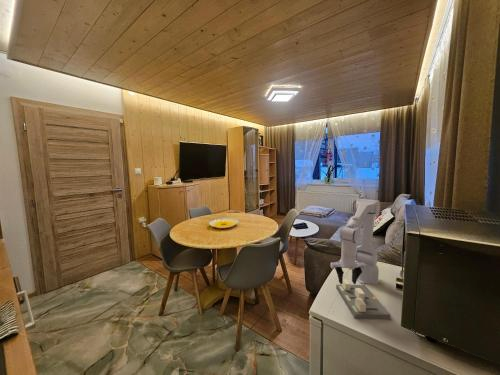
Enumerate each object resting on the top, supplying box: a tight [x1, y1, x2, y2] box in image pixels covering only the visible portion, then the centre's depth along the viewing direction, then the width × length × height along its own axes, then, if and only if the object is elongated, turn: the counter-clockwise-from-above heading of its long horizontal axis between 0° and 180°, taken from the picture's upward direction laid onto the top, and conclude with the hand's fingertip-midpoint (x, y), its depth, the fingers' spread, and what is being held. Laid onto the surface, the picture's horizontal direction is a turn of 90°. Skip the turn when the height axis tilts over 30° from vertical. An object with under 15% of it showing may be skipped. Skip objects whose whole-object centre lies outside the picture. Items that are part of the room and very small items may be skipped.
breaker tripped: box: [355, 288, 365, 300], centre depth 93 cm, size 2×4×3 cm, turn 178°
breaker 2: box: [355, 298, 366, 312], centre depth 86 cm, size 2×4×3 cm, turn 178°
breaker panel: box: [335, 284, 391, 320], centre depth 93 cm, size 14×20×2 cm
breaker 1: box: [341, 278, 352, 290], centre depth 100 cm, size 2×4×3 cm, turn 178°
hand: (347, 282), depth 92 cm, fingers open, 5 cm apart
